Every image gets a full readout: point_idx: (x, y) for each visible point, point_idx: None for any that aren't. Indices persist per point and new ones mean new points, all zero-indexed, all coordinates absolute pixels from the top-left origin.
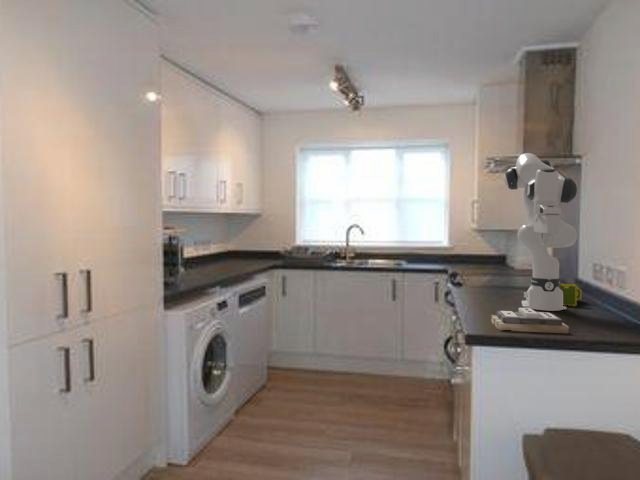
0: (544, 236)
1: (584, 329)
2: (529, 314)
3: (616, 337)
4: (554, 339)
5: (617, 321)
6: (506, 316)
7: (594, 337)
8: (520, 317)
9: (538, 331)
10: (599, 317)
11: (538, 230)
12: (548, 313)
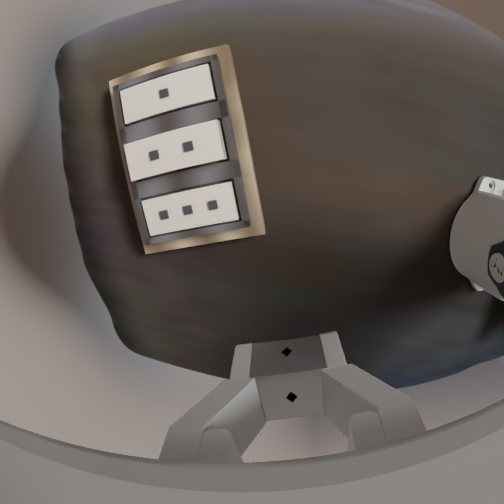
0: (178, 425)
1: (220, 294)
2: (126, 155)
3: (164, 338)
4: (81, 210)
5: None
6: (120, 92)
7: (140, 296)
8: (131, 129)
9: None
10: (391, 348)
11: (458, 452)
12: (220, 215)
